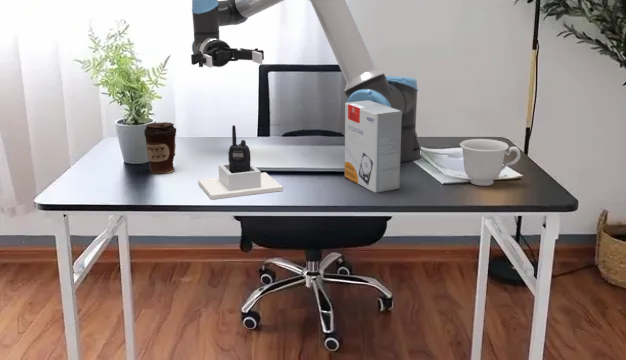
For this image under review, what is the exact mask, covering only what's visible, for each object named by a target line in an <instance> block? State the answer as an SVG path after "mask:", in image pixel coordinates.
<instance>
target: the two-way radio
mask: <svg viewBox="0 0 626 360" xmlns="http://www.w3.org/2000/svg"><path fill="white" fill-rule="evenodd" d="M231 127H232V129H231V136H232V139H231V141H232V144H231V145H230V146H229V150H228V164H229V171H230V172H231V173H241V172H250V171H251V167H250V163H251V161H252V160H251V157H252V156H251V151H250V147H249V146H248V145H247V142H246V140H245V139H242V140H241V142H240V143H239V144H238V143H237V132H236V125H235V124H234V125H232V126H231Z"/></svg>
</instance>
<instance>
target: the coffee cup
mask: <svg viewBox="0 0 626 360" xmlns="http://www.w3.org/2000/svg"><path fill="white" fill-rule="evenodd" d="M174 125H175V124H174V123H172V122H168V121H167V122H155V123H148V124H146V127H145V129H144V132H143V133H144V137H145V146H146V153H147V159H148V161H149V168H150V172H151V173H153V174H170V173H173V172H175V169H176V168H175V167H174V159H175V156H176V136H177V134H176V133H177V128H176V127H174Z"/></svg>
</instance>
